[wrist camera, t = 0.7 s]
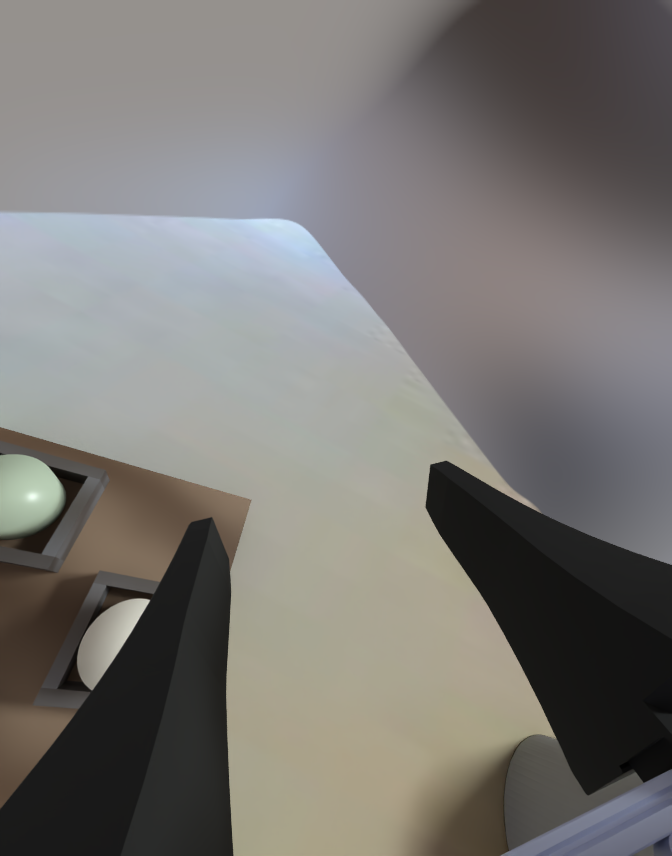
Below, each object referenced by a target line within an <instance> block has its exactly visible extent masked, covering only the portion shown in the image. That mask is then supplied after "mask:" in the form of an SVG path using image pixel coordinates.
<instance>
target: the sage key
mask: <svg viewBox="0 0 672 856" xmlns="http://www.w3.org/2000/svg"><path fill="white" fill-rule="evenodd" d="M65 504H66V491H65V488H64V486H63V484H62V483H61V482H60V481H59V479H58V478H57V477H56V476H55V474H54V473H53V472H52V471H51V469H50V468H49V467H48V466H47V465H46V464H45V463H43V462H42V461H40V460H38V459H36V458H33V457H30V456H26V455H19V454H8V455H0V539H2V540H16V539H22V538H26V537H29V536H32V535H35V534H37V533H39V532H41V531H43V530H44V529H46V528H47V527H49V526H50V525H51V524H52V523H54V522H55V521H56V519H57V518H58V517H59V516H60V514H61V513H62V511H63V509H64V507H65Z"/></svg>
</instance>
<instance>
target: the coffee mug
mask: <svg viewBox="0 0 672 856" xmlns="http://www.w3.org/2000/svg"><path fill="white" fill-rule="evenodd" d="M641 784H643V781H642V780H641V779H640V777H639V776H638V775H637V773H636V772H635V773H633V774H631V775H629V776H627V777H625V778H623V779H621V780H619V781H617V782H615V783H613V784H611V785H609V786H607V787H605V788H603V789H601V790H599V791H597V792H595V793H593V794H591V795H589V796H588V795H587V794H585V792H584V791H583V789H582V787H581V786H580V784H579V783H578V781H577V779H576V778H575V776H574V774H573V773H572V771H571V769H570V767H569V765H568V762H567V760H566V758H565V756H564V753H563V751H562V749H561V747H560V745H559V743H558V740H557V739H554V738H551V737H548V736H545V735H533V736H530V737H528V738H526V739H525V740H524V741H523V742H521V744H520V745H519V746H518V747H517V749H516V751H515V753H514V755H513V757H512V759H511V762H510V765H509V768H508V772H507V777H506V783H505V792H504V817H505V829H506V837H507V843H508V848H509V851H511V850H513V849H515V848H516V847H518V846H520V845H522V844H524V843H526V842H528V841H530V840H532V839H534V838H536V837H538V836H540V835H542V834H544V833H546V832H548V831H550V830H552V829H554V828H556V827H558V826H560V825H562V824H564V823H566V822H568V821H570V820H572V819H574V818H576V817H578V816H580V815H582V814H584V813H586V812H588V811H590V810H592V809H594V808H596V807H598V806H600V805H602V804H603V803H605V802H607V801H609V800H611V799H613V798H615V797H617V796H619V795H621V794H623V793H625V792H627V791H629V790H631V789H633V788H635V787H637V786H639V785H641ZM632 856H655V855H654V851H653V844H652V845H650V846H649V847H647V848H645V849H643V850H641V851H640V852H638V853H636V854H634V855H632Z"/></svg>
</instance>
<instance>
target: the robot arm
mask: <svg viewBox="0 0 672 856" xmlns="http://www.w3.org/2000/svg"><path fill="white" fill-rule="evenodd" d="M426 509H427V511H428V513H429V515H430V517H431V519H432V521H433V523H434V525H435V527H436V529H437V530H438V532H439V534H440V535H441V537H442V539H443V540H444V541H445V543H446V544H447V546H448V547H449V549H450V550H451V552H452V553H453V555H454V556H455V558H456V559H457V560H458V562H459V563H460V565H461V566H462V568H463V569H464V571H465V572H466V573H467V575H468V576H469V578H470V579H471V581H472V582H473V584H474V585H475V586H476V588H477V589H478V591H479V592H480V594H481V595H482V597H483V599H484V600H485V602H486V603H487V605H488V607H489V608H490V610H491V612H492V614H493V615H494V617H495V619H496V621H497V623H498V624H499V626H500V628H501V630H502V631H503V633H504V635H505V637H506V639H507V641H508V642H509V644H510V646H511V648H512V650H513V652H514V654H515V655H516V657H517V659H518V661H519V663H520V665H521V667H522V669H523V671H524V673H525V675H526V677H527V679H528V681H529V683H530V685H531V687H532V689H533V690H534V692H535V694H536V696H537V698H538V700H539V702H540V704H541V706H542V708H543V711H544V713H545V715H546V717H547V719H548V721H549V723H550V726H551V728H552V730H553V732H554V734H555V736H556V738H557V740H558V743H559V745H560V747H561V749H562V751H563V753H564V756H565V758H566V760H567V762H568V765H569V767H570V769H571V771H572V773H573V774H574V776H575V778H576V779H577V781H578V783H579V784H580V786H581V787H582V789H583V791H584V792H585V794H587V795H588V796H589V795H591V794H593V793H595V792H597V791H599V790H601V789H603V788H605V787H607V786H609V785H611V784H613V783H615V782H617V781H619V780H621V779H623V778H625V777H627V776H629V775H631V774H633V773H635V772H636V773H637V775H638V776H639V777H640V779H641V780H642V781H643V784H641V785H639V786H637V787H635V788H633V789H631V790H629V791H627V792H625V793H623V794H621V795H619V796H617V797H615V798H613V799H611V800H609V801H607V802H605V803H603V804H602V805H600V806H598V807H596V808H594V809H592V810H590V811H588V812H586V813H584V814H582V815H580V816H578V817H576V818H574V819H572V820H570V821H568V822H566V823H564V824H562V825H560V826H558V827H556V828H554V829H552V830H550V831H548V832H546V833H544V834H542V835H540V836H538V837H536V838H534V839H532V840H530V841H528V842H526V843H524V844H522V845H520V846H518V847H516V848H515V849H513V850H511V851H509V852H507V853H505V854H503V855H501V856H632V855H634V854H636V853H638V852H640V851H641V850H643V849H645V848H647V847H649V846H650V845H652V844H653V851H654V855H655V856H672V565H670V564H667V563H664V562H660V561H658V560H655V559H652V558H649V557H646V556H643V555H640V554H637V553H634V552H631V551H629V550H626V549H624V548H621V547H618V546H615V545H613V544H610V543H608V542H605V541H602V540H600V539H597V538H595V537H592V536H589V535H587V534H585V533H583V532H580V531H578V530H576V529H574V528H571V527H569V526H567V525H565V524H562V523H560V522H558V521H556V520H554V519H551V518H549V517H547V516H545V515H543V514H541V513H539V512H537V511H535V510H533V509H532V508H530V507H528V506H526V505H524V504H522V503H520V502H518V501H516V500H514V499H513V498H511V497H509V496H507V495H505V494H503V493H502V492H500V491H498V490H496V489H495V488H493V487H491V486H489V485H488V484H486V483H484V482H483V481H481V480H479V479H477V478H476V477H474V476H472V475H471V474H469V473H467V472H466V471H464V470H462V469H460V468H459V467H457V466H455V465H454V464H452V463H450V462H448V461H444V462H439V463H435V464H431V465H430V473H429V482H428V490H427V499H426ZM230 604H231V581H230V564H229V558H228V555H227V553H226V550H225V548H224V545H223V543H222V540H221V538H220V535H219V533H218V530H217V528H216V525H215V523H214V520H213V518H212V517H210V518H206V519H202V520H197V521H193V522H191V523H190V524H189V525H188V527H187V530H186V532H185V534H184V536H183V538H182V540H181V542H180V544H179V547H178V549H177V551H176V553H175V555H174V557H173V559H172V561H171V563H170V565H169V567H168V568H167V570H166V572H165V574H164V576H163V578H162V580H161V581H160V583H159V585H158V587H157V589H156V591H155V593H154V594H153V596H152V598H151V600H150V601H149V603H148V605H147V607H146V608H145V610H144V612H143V613H142V615H141V617H140V618H139V620H138V622H137V623H136V625H135V627H134V628H133V630H132V632H131V633H130V635H129V637H128V638H127V640H126V641H125V643H124V644H123V646H122V647H121V649H120V651H119V652H118V654H117V655H116V657H115V658H114V660H113V661H112V663H111V664H110V666H109V667H108V668H107V670H106V671H105V673H104V674H103V676H102V677H101V679H100V680H99V682H98V683H97V684H96V686H95V687H94V689H93V690H92V691H91V693H90V694H89V696H88V697H87V698H86V700H85V701H84V702H83V704H82V705H81V707H80V708H79V709H78V711H77V712H76V713H75V715H74V716H73V718H72V719H71V720H70V722H69V723H68V724H67V726H66V727H65V728H64V730H63V731H62V732H61V733H60V735H59V736H58V737H57V739H56V740H55V741H54V743H53V744H52V745H51V746H50V748H49V749H48V750H47V752H46V753H45V754H44V755H43V756H42V758H41V759H40V760H39V761H38V763H37V764H36V765H35V766H34V768H33V769H32V770H31V771H30V773H29V774H28V775H27V776H26V778H25V779H24V780H23V781H22V783H21V784H20V785H19V786H18V787H17V789H16V790H15V791H14V792H13V794H12V795H11V796H10V797H9V799H8V800H7V801H6V802H5V804H4V805H3V806H2V807H1V809H0V856H233V843H232V826H231V807H230V789H229V767H228V742H227V710H226V674H227V657H228V640H229V623H230Z"/></svg>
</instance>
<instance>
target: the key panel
mask: <svg viewBox="0 0 672 856" xmlns="http://www.w3.org/2000/svg"><path fill="white" fill-rule="evenodd" d="M8 454H19V455H26V456H30V457H33V458H36V459H38V460H40V461H42V462H43V463H45V464H46V465H47V466H48V467H49V468H50V469H51V471H52V472H53V473H54V474H55V476H56V477H57V478H58V479H59V481H60V482H61V483H62V484H63V486H64V488H65V491H66V504H65V507H64V509H63V511H62V513H61V514H60V516H59V517H58V518H57V519H56V521H55V522H54V523H52V524H51V525H50V526H49V527H47V528H46V529H44V530H43V531H41V532H39V533H37V534H35V535H32V536H29V537H26V538H22V539H16V540H2V539H0V809H1V807H2V806H3V805H4V804H5V802H6V801H7V800H8V799H9V797H10V796H11V795H12V794H13V792H14V791H15V790H16V789H17V787H18V786H19V785H20V784H21V783H22V781H23V780H24V779H25V778H26V776H27V775H28V774H29V773H30V771H31V770H32V769H33V768H34V766H35V765H36V764H37V763H38V761H39V760H40V759H41V758H42V756H43V755H44V754H45V753H46V752H47V750H48V749H49V748H50V746H51V745H52V744H53V743H54V741H55V740H56V739H57V737H58V736H59V735H60V733H61V732H62V731H63V730H64V728H65V727H66V726H67V724H68V723H69V722H70V720H71V719H72V718H73V716H74V715H75V713H76V712H77V711H78V709H79V708H80V707H81V705H82V704H83V702H84V701H85V700H86V698H87V697H88V696H89V694H90V693H91V691H92V690H91V689H89V688H88V687H87V686H86V685H85V684H84V682H83V681H82V679H81V677H80V675H79V672H78V666H77V656H78V650H79V647H80V644H81V641H82V639H83V637H84V635H85V633H86V631H87V630H88V628H89V627H90V625H91V624H92V623H93V622H94V621H95V620H96V619H97V618H98V617H99V616H100V615H101V614H102V613H103V612H105V611H106V610H107V609H109V608H110V607H112V606H114V605H116V604H118V603H120V602H123V601H126V600H130V599H148V600H151V598H152V596H153V594H154V593H155V591H156V589H157V587H158V585H159V583H160V581H161V580H162V578H163V576H164V574H165V572H166V570H167V568H168V567H169V565H170V563H171V561H172V559H173V557H174V555H175V553H176V551H177V549H178V547H179V544H180V542H181V540H182V538H183V536H184V534H185V532H186V530H187V527H188V525H189V524H190V523H191V522H193V521H197V520H202V519H206V518H210V517H212V518H213V520H214V523H215V525H216V528H217V530H218V533H219V535H220V538H221V540H222V543H223V545H224V548H225V550H226V553H227V555H228V558H229V564H230V570H231V566H232V563H233V560H234V556H235V553H236V550H237V546H238V543H239V540H240V536H241V533H242V530H243V526H244V523H245V520H246V516H247V513H248V510H249V506H250V503H251V500H250V499H246V498H243V497H239V496H236V495H232V494H229V493H226V492H222V491H219V490H215V489H212V488H208V487H205V486H201V485H198V484H194V483H191V482H188V481H184V480H181V479H177V478H174V477H170V476H167V475H163V474H160V473H156V472H153V471H150V470H146V469H143V468H139V467H136V466H132V465H129V464H125V463H122V462H118V461H115V460H112V459H108V458H105V457H101V456H98V455H94V454H91V453H87V452H84V451H80V450H77V449H73V448H70V447H67V446H63V445H60V444H56V443H53V442H49V441H46V440H42V439H39V438H35V437H32V436H29V435H25V434H22V433H18V432H15V431H11V430H8V429H4V428H1V427H0V455H8Z"/></svg>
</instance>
